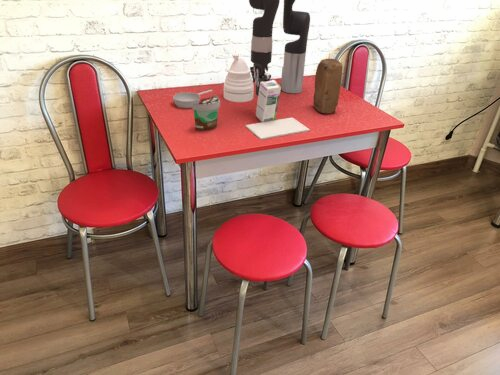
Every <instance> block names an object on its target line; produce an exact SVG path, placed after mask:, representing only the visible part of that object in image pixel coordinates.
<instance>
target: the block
mask: <svg viewBox="0 0 500 375" xmlns="http://www.w3.org/2000/svg"><path fill="white" fill-rule="evenodd" d="M342 76H343V63H342V62H340V61H339V60H338V59H334V58H324V59H321V60H320V61H319V63H318V65H317V66H316V70H315V78H314V94H313V102H312V103H313V107H314V108H315V109H316V111H317V112H319V113H321V114H327V115H328V114H329V115H330V114H332V113H334V112H335V111H336V109H337V107H338V105H339V99H340V93H341V88H342V87H341V86H342Z"/></svg>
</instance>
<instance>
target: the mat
mask: <svg viewBox="0 0 500 375" xmlns="http://www.w3.org/2000/svg"><path fill="white" fill-rule="evenodd" d="M245 128H246V129H248V130H249V131H250V132H251V133H252V134H253V135H254V136H255V137H257V138H258V139H259V140H261V141H262V140H269V139H275V138H278V137H284V136H289V135H290V136H291V135H295V134H300V133H306V132H307V133H308V132H310V130H311V129H310V128H308V127H307V126H305V125H304V124H302V123H301V122H299V121H298V120H297V119H296V118H294V117H287V118H280V119H276V120H274V121H268V122H256V123H251V124H246V125H245Z"/></svg>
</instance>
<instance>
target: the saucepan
mask: <svg viewBox="0 0 500 375" xmlns="http://www.w3.org/2000/svg"><path fill="white" fill-rule="evenodd" d="M211 92H213V89H208V90H205V91H202V92H201V91H200V92H199V93H197V92H192V91H191V92H190V91H183V92H182V91H181V92H177V93H175V94H173V96H172V98H173V102H174V104H175V106H176V107H177V108H179V109H192V107H193V103H194V104H199V103H200V102H201V96H202V95H205V94H207V93H211Z"/></svg>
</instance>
